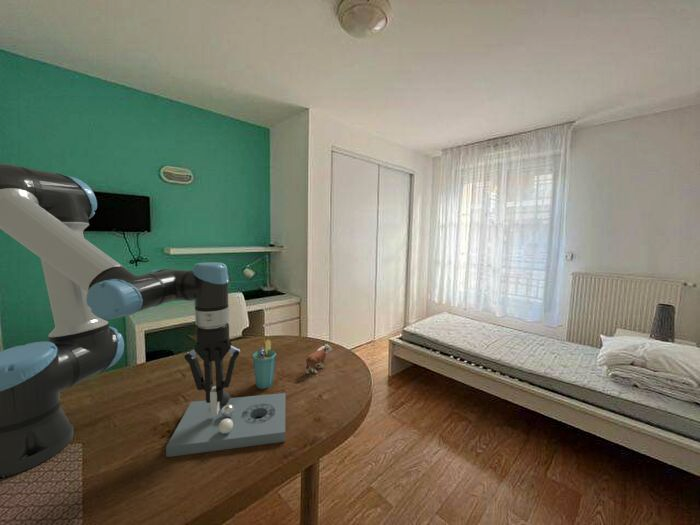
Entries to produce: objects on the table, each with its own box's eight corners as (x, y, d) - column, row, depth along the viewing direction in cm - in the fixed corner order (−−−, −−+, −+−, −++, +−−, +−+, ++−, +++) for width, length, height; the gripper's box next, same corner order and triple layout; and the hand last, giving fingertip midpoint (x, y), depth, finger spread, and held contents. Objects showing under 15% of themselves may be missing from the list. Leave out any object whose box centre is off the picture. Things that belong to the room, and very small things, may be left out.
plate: (166, 457, 62) (166, 446, 62) (191, 410, 79) (191, 401, 79) (285, 441, 68) (285, 432, 68) (285, 400, 85) (285, 392, 84)
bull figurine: (333, 363, 110) (333, 343, 109) (311, 377, 98) (311, 355, 98) (324, 360, 112) (324, 341, 111) (301, 374, 101) (302, 352, 100)
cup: (274, 397, 86) (274, 350, 85) (248, 399, 85) (247, 352, 83) (277, 374, 100) (277, 334, 98) (254, 376, 98) (254, 335, 97)
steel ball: (234, 409, 71) (232, 420, 72) (236, 401, 74) (234, 413, 75) (220, 408, 71) (219, 420, 71) (223, 401, 74) (222, 412, 74)
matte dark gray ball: (216, 407, 76) (215, 396, 76) (218, 400, 79) (218, 390, 79) (228, 406, 77) (228, 395, 77) (230, 399, 80) (230, 389, 80)
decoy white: (217, 437, 65) (217, 425, 65) (220, 428, 68) (220, 416, 68) (231, 436, 66) (231, 423, 66) (234, 426, 69) (234, 414, 69)
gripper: (177, 330, 64) (181, 425, 67) (237, 328, 67) (239, 419, 70) (189, 320, 72) (192, 406, 74) (242, 318, 75) (244, 401, 77)
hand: (215, 412), depth 72 cm, fingers closed
